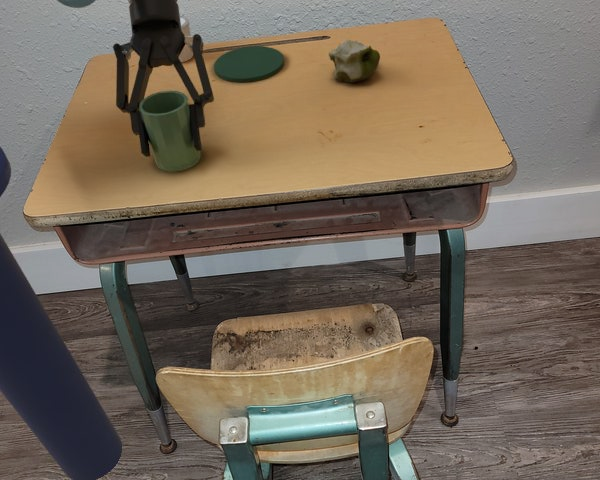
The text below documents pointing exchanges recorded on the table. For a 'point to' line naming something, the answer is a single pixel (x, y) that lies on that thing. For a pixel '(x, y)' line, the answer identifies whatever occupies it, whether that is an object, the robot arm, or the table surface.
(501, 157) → the table surface
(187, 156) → the green cup
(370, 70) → the grey and green rock
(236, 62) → the green mat
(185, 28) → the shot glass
